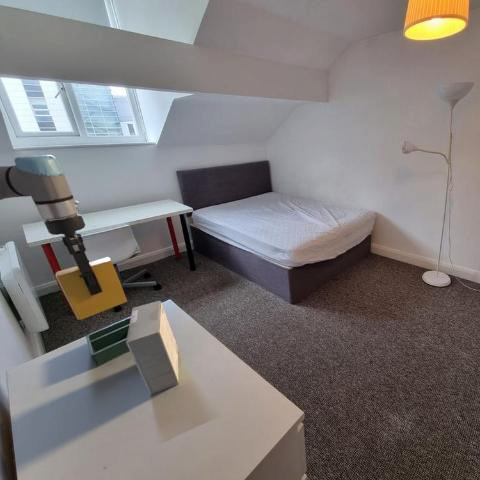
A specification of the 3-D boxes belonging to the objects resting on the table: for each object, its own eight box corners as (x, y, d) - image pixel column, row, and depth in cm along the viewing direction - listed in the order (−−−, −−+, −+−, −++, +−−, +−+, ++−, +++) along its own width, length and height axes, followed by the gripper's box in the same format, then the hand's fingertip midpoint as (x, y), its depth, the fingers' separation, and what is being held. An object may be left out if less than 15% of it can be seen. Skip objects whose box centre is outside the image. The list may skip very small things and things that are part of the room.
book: (76, 315, 80) (54, 272, 74) (125, 297, 88) (108, 256, 82) (78, 320, 78) (55, 276, 72) (127, 301, 86) (110, 260, 79)
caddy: (91, 346, 92) (85, 335, 90) (144, 322, 102) (140, 312, 100) (96, 367, 84) (91, 356, 82) (154, 338, 94) (150, 328, 92)
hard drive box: (152, 357, 87) (132, 307, 78) (178, 348, 90) (161, 299, 82) (149, 396, 74) (125, 342, 66) (179, 384, 77) (160, 331, 69)
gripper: (84, 219, 68) (116, 296, 77) (77, 207, 79) (106, 275, 88) (43, 227, 63) (83, 308, 72) (42, 213, 74) (76, 285, 83)
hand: (95, 290), depth 80 cm, fingers closed on book, 3 cm apart
